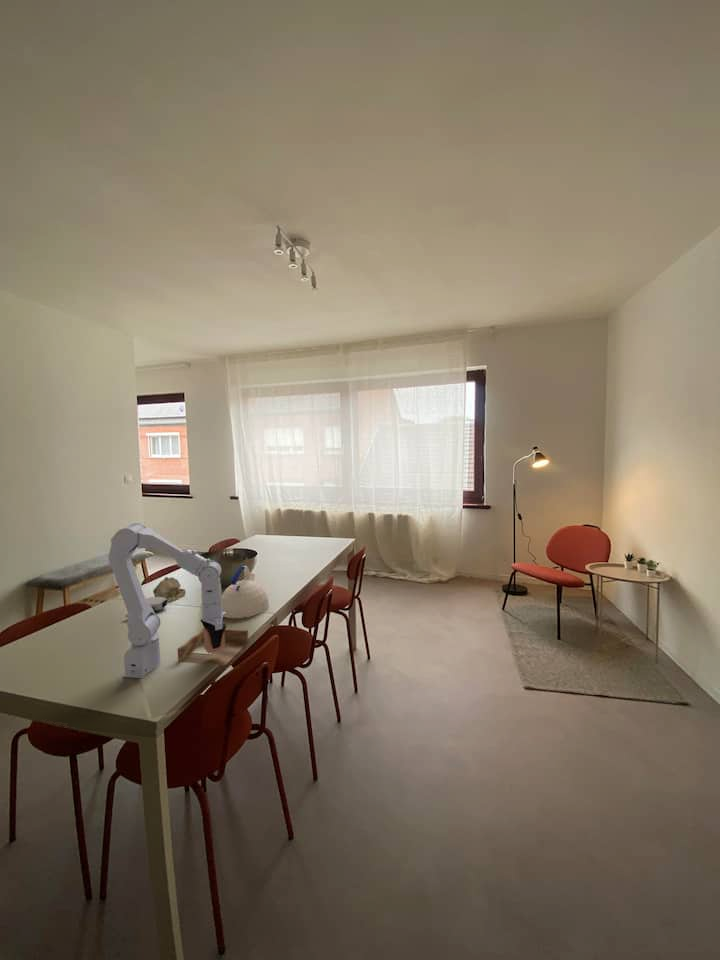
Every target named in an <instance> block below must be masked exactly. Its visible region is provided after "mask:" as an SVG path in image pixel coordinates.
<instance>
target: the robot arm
mask: <svg viewBox="0 0 720 960" xmlns="http://www.w3.org/2000/svg"><path fill="white" fill-rule="evenodd" d="M110 543H111V545H110V548H109V553H108V558H107V559H108V562H109V565H110V568H111V570H112V573H113V576H114V578H115V582H116V584H117V587H118V589H119V592H120V595H121V597H122V598H121V599H122V600H123V602H124V605H125V608H126V611H127V614H129V615H128V617H127V623H126V627H127V629H128V633H127V638H128V641H129V642H130V643H131V645H130V647H129V648H128V649H127V650H126V652H124V656H123V663H124V664H123V665H124V674H123V675H122V677H123V678H130V679H131V678H132V679H133V678H134V679H143V677H145V676H146V675H148V674H149V673H150V672H151V671H154V670H155V669H158V667H159V666H161V662H162V661H161V647H160V637H159V632H158V629H159V627H160V626H161V618H160V616H159V615H158V614H156V613H155V611H153V608H152V607H150V606H148V605H147V602H146V597H145V594H144V590H143V589H142V586H141V583H140V580H139V578H138V575H137V573H136V570H135V567H134V565H133V561H132V559H131V557H132V556H133V555H134V553H135V551H136V549H139V550H140V549H147V548H148V549H149V548H151V549H154V550H156V551H158V552H160V553H162V554H163V555H165V556H168V557H170V558H171V559H174V560H175V561H176V565H177V566H178V567H179V568H180V569H183V570H185V571H186V572H188V573H190V574H191V575H193V576H195V577H197V578H198V581H199V582H200V584H201V606H202V607H201V608H202V609H201V610H202V617H201V619H200V622H201V624H202V625H203V629H204V628H206V630H207V631H208V633H209V635H210V639H211V644H212V647H213V649H215V648H218V647H220V646H221V640H222V636H223V633H224V630H225V629H227V624H226V623H223V620H224V619H223V618H224V617H223V616H225V615H226V612H225V611H224V612H222V586H221V585H222V583H221V573H222V571H223V570H222V566H221V565H220V563H218V562H217V561H216V560H211V559H210V558H205V557H204V556H202V555H200V554H198V551H197V550H196V549H190V548H189V549H182V548H180V547H179V546H177V545H176V544H174V543H173V542H171V541H170V540H167V539H166V538H165V537H163V536H162V535H160V534H159V533H158V532H156V531H154V529H152V528H151V527H149V526H148V527H146V526H145V525H144V524H142V523H138V522H136V523H132V524H130V525H128V526H126V527H124V528H121V529H118V530H117V531H116V533H115V534H114V535H113V536H112V537H111V539H110Z"/></svg>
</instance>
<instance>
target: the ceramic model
mask: <svg viewBox="0 0 720 960" xmlns="http://www.w3.org/2000/svg"><path fill="white" fill-rule="evenodd" d="M181 587H182V586H181V583H180V581H179V580H178V579H177V578H174V577H168V576H166V577H164V578H163V579H162V580H161V581H159V582H158V584H157V585H156V587H154V589H153V591H152V593H153V595H154V596H153V597H164V598H166V599H167V601H169V599H170V598H171V599H170V601H169V602H168V604H171V603H172V602H175V601H178V600H179V599H181V598H183V597H184V596H185V595H186V589H184V588H181Z"/></svg>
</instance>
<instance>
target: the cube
mask: <svg viewBox="0 0 720 960" xmlns="http://www.w3.org/2000/svg"><path fill="white" fill-rule="evenodd" d="M203 630H204V647H205V649H206V651H207V652H208V653H212V652H215V651H219V650H222V649H225V638H224V633H223V636H222V640H221V646H220V647H218V648H215V649H213V647H212V644H211V639H210V635H209V633H208V631H207V630H206V628H204V627H203Z"/></svg>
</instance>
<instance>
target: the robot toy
mask: <svg viewBox="0 0 720 960" xmlns="http://www.w3.org/2000/svg"><path fill="white" fill-rule="evenodd" d="M145 599H146V602H147V605H148V606H150V607H152V608H153V611H154V612H155V611H161V610H162V609H164V608H166V606H167V605H168V604H169V603H168V602H169V601H170V599H171V598H170V599H169V601H167V599H166V598H164V597H155V596H153V597H152V596H151V597H145ZM128 615H129V614H128V613H126V614H125V617H126V618H128Z"/></svg>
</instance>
